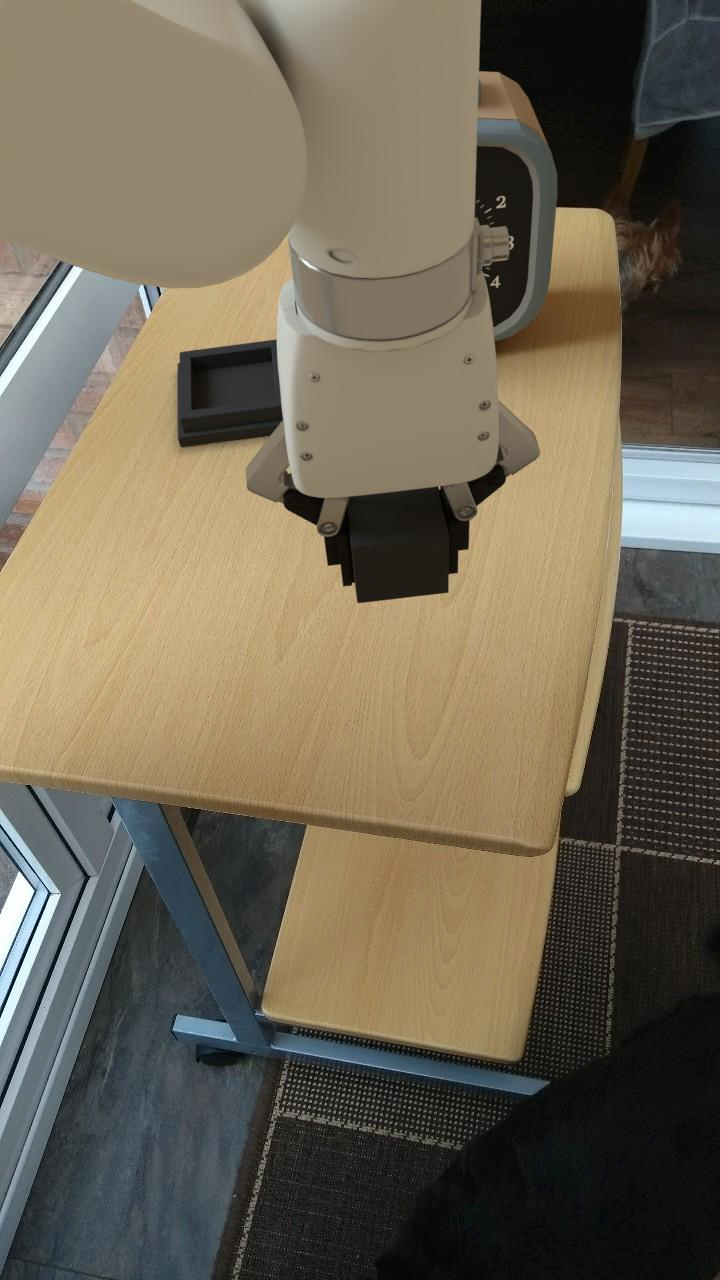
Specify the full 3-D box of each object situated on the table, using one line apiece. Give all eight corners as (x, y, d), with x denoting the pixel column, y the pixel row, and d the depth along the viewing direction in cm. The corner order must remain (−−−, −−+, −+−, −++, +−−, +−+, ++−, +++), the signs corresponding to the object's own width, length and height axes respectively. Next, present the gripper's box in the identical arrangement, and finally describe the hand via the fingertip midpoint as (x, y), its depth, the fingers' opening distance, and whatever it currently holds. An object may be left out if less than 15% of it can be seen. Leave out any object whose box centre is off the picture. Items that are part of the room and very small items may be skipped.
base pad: (180, 447, 85) (173, 423, 83) (179, 372, 91) (173, 349, 89) (299, 431, 85) (295, 407, 83) (290, 357, 91) (287, 334, 89)
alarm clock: (312, 380, 89) (278, 133, 72) (305, 315, 95) (272, 72, 78) (545, 352, 89) (567, 98, 72) (524, 289, 95) (540, 40, 78)
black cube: (357, 603, 55) (351, 547, 52) (348, 537, 58) (342, 479, 55) (448, 593, 55) (449, 536, 52) (435, 527, 58) (434, 469, 55)
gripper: (565, 198, 45) (535, 496, 59) (179, 241, 45) (242, 530, 59) (608, 297, 40) (563, 594, 55) (177, 346, 40) (247, 631, 54)
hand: (397, 558), depth 57 cm, fingers closed on black cube, 5 cm apart
